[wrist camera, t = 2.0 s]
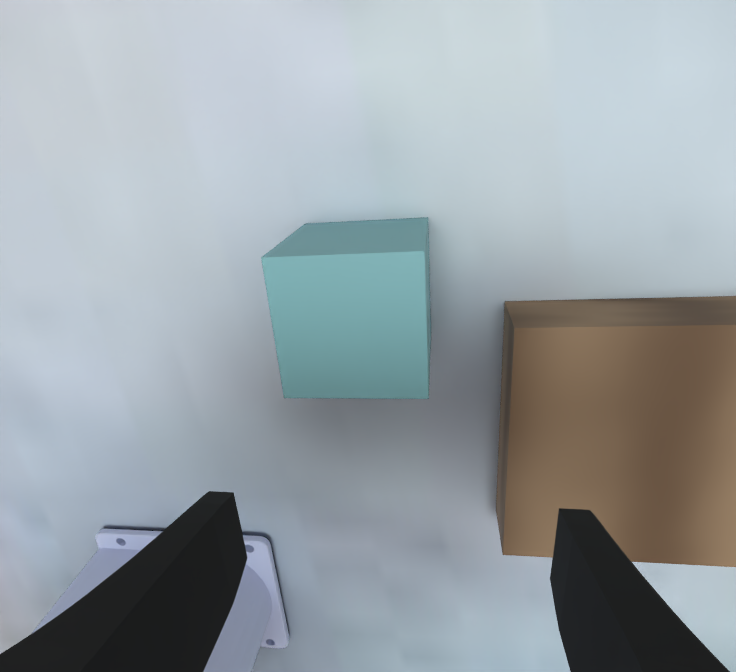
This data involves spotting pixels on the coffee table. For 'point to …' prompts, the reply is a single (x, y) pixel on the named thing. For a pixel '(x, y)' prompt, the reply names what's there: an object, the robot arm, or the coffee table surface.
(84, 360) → the coffee table surface
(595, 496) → the walnut block
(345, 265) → the teal block
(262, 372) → the coffee table surface
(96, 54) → the coffee table surface
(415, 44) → the coffee table surface
